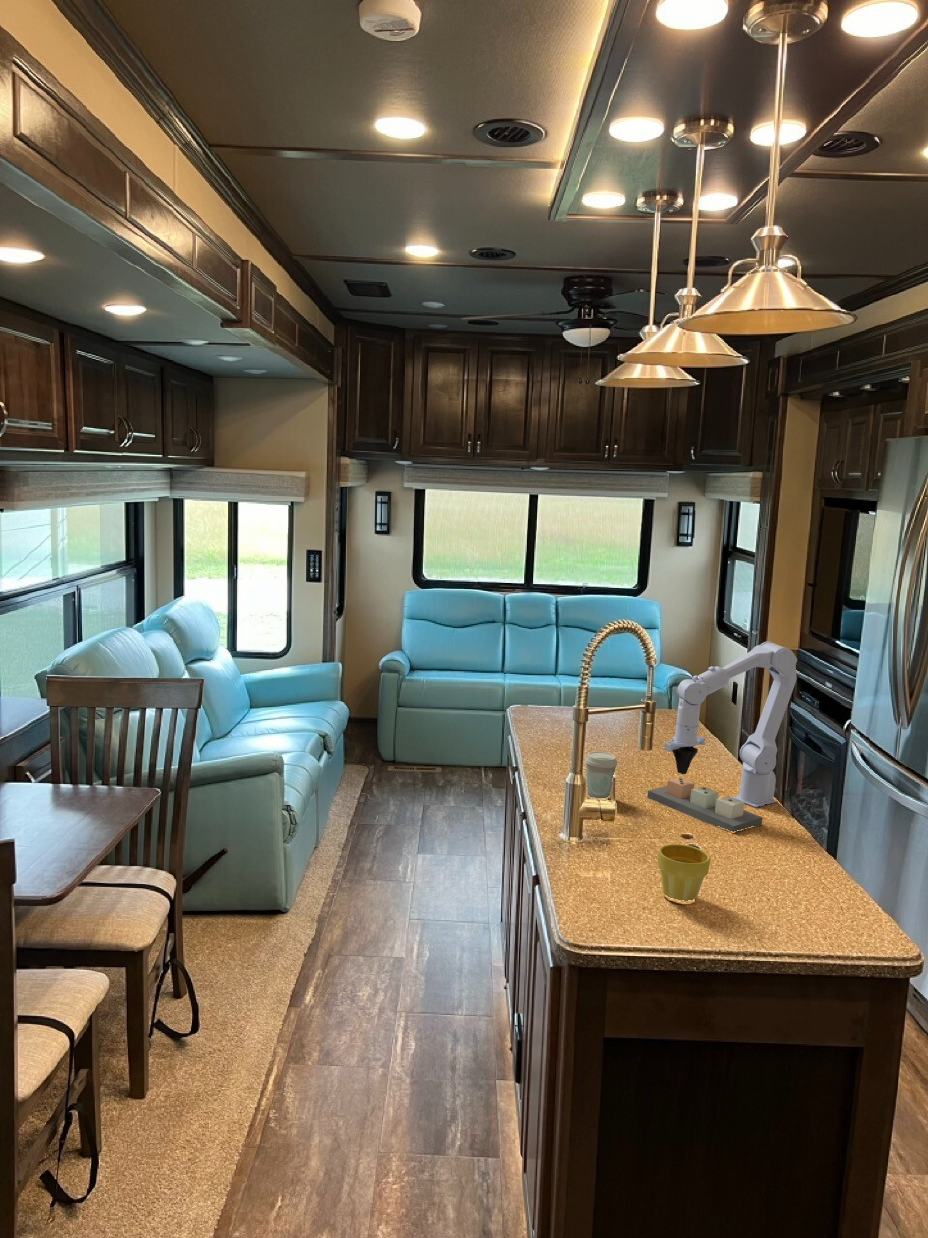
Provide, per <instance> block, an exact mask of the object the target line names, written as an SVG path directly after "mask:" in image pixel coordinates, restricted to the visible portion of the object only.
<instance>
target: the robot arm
mask: <svg viewBox="0 0 928 1238" xmlns="http://www.w3.org/2000/svg"><path fill="white" fill-rule="evenodd" d="M797 662H798V658H797V656H796V655H795V653H794V652H793V650H791V649H790V648H788V647H784V646H782V645H779V644H777V643H774V642H773V641H770V640H769V641H764V642H762V643H760V644H758V645H755V646H754V647H753V648H752V649H751V650H750V651H748V652H747V653H745V654H743V655H741V656H739V657H738V658H736V659H735V660H733V661H732V662H730V663H728V664H727V665H725V666H722V667H721V666H717V665H716V666H712V665H711V666H709V667H708V668H707V669H708V670H706V671H704V672H702V673H701V674H698V675H696V674H695V675H693V676H692V679H691V678H690V679H689V678H687V679H686V678H685V679H683V680H682V681H680V683H679V684H678V686H677V687H676V688H675V692H676V695H677V697H678V706H677V714H676V722H675V723H676V725H675V731H674V732H675V733H674V734H675V735H674V736H672V737H671V740H669V741H666V742H664V750H665V751H667V752H672V753H673V756H674V759H675V764H676V769H677V770H676V771H677V772H676V773H679V774H681V775H686V774H688V770H689V768H690V765H691V763H692V761H693V759H694V758H695V756H696V754H698V751H699V749H698V748H696V747H695V746H699V745H701V746H704V745H705V744H706V737H704V736H701V735H699V736H698V729H699V722H700V715H701V705H702V703H703V702H704V701H705V700H706V697H707V696H709V695H710V694H712V693H715V692H716V691H718V690H720V689H722V688H724V687H726V686H728V684H729V681H730V679H731V678H734V677H736V676H738V675H740V674H742V673H745V672H748V671H749V670H752V669H753V668H763V669H768V672H769V673H770V675H771V676H772V679H773V681H772V684H771V687H770V690H769V692H768V696H767V698H766V701H765V704H764V706H763V709H762V712H761V715H760V717H759V720H758V723H757V725H756V729H755V731H754V733H752V734H751V735H749V736H748V737H747V740H746V742H744V744H743V745H742V746H741V747H740V749H739V757H740V759H741V761H742V770H741V779H740V785H739V786H740V787H739V794H737V795H733V796H731V797H732V798H735V799H737V800H740V801H742V802H744V804H745V805H748V806H751V807H753V808H760V807H764V806H766V805H765V804H767V805H769V804H774V803H776V802H777V800H776V799H774V798H775V797H774V796H775V790H776V783H777V782H776V780H777V779H776V774H775V772H774V771H773V770H774V769H775V767H776V766H777V765H776V764H777V752H778V747H777V743H776V738H777V735H778V732H779V729H780V727H781V724H782V721H783V719H784V716H785V713H786V710H787V708H788V704H789V701H790V699H791V696H792V694H793V692H794V688H795V685H796V682H797V679H798V678H797V668H796V665H797ZM775 800H776V801H775ZM759 806H760V807H759Z"/></svg>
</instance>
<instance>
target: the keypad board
mask: <svg viewBox="0 0 928 1238" xmlns="http://www.w3.org/2000/svg"><path fill="white" fill-rule="evenodd" d="M646 797H647V798H648V799H649V800H650V799H651V800H652V801H654V802H658V803H659V804H661V805H665V806H667V807H669V808H672V809H674V810H676V811H679V812H680V813H683V814H686V815H688V816H690V817H693V818H696V819H697V818H698V819H697V820H699V821H702V820H703V821H702V822H704V821H705V823H707V822H708V823H707V824H709V823H710V824H709V825H711V824H713V825H712V826H714V825H715V826H714V827H716V826H720V827H722V828H725V829H728V830H730V831H733V832H734V831H737V830H741V829H745V828H748V827H751V826H756V827H759V826H762V825H763V816H760V815H758V814H755V813H752V812H750V811H748V810H743V816H741V817H737V818H734V819H729V818H727V817H724V816H722V815H719V814H717V813H715V806H714V807H711V808H707V809H705V808H702V807H700V806H697V805H695V804H692V803H690V798H691V797H687V798H683V799H680V798H678V797H675V796H673V795H670V794H668V793H667V785H666V786H661V787H657V788H652V789H649V790H647V796H646ZM761 824H762V825H761ZM758 825H759V826H758Z"/></svg>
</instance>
